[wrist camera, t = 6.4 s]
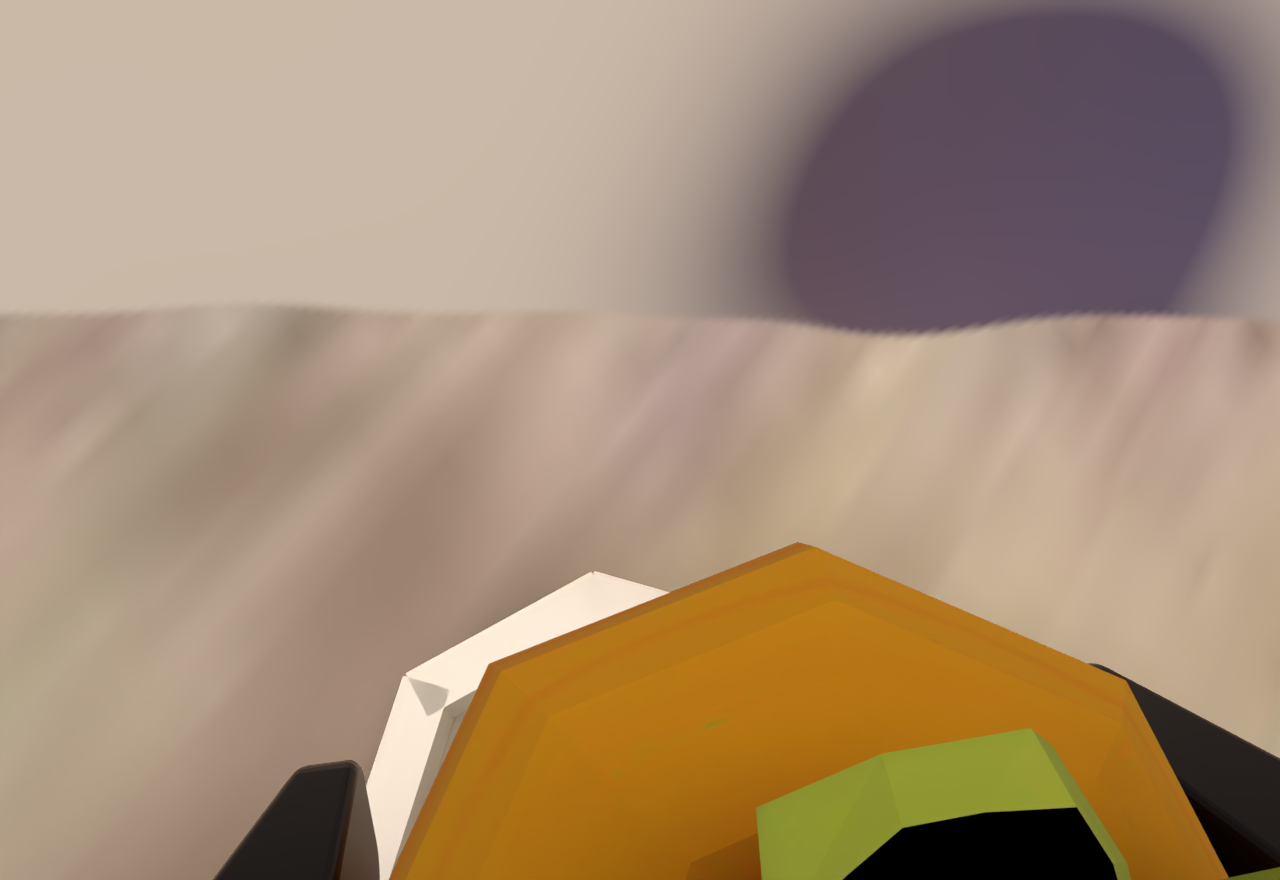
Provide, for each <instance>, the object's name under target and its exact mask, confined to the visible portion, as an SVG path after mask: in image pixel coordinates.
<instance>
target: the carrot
mask: <svg viewBox="0 0 1280 880" xmlns="http://www.w3.org/2000/svg"><path fill="white" fill-rule="evenodd" d="M389 880H1280V867H1278V868H1273V869H1268V870H1264V871H1259V872H1254V873H1249V874H1244V875H1240V876H1235V877H1230V878H1229V877H1228V875H1227V873H1226V871H1225V869H1224V868H1223V866H1222V864H1221V862H1220V860H1219V858H1218V856H1217V854H1216V852H1215V850H1214V848H1213V846H1212V845H1211V843H1210V841H1209V839H1208V837H1207V835H1206V833H1205V831H1204V829H1203V827H1202V825H1201V823H1200V821H1199V820H1198V818H1197V816H1196V814H1195V812H1194V810H1193V808H1192V806H1191V804H1190V802H1189V800H1188V798H1187V797H1186V795H1185V793H1184V791H1183V789H1182V787H1181V785H1180V783H1179V781H1178V779H1177V777H1176V775H1175V774H1174V772H1173V770H1172V768H1171V766H1170V764H1169V762H1168V760H1167V758H1166V756H1165V754H1164V752H1163V750H1162V749H1161V747H1160V745H1159V743H1158V741H1157V739H1156V737H1155V735H1154V733H1153V731H1152V729H1151V727H1150V726H1149V724H1148V722H1147V720H1146V718H1145V716H1144V714H1143V712H1142V710H1141V708H1140V706H1139V704H1138V703H1137V701H1136V699H1135V697H1134V695H1133V693H1132V691H1131V689H1130V687H1129V685H1128V683H1127V681H1126V680H1124V679H1122V678H1119V677H1117V676H1115V675H1112V674H1110V673H1108V672H1105V671H1103V670H1101V669H1098V668H1096V667H1094V666H1091V665H1089V664H1087V663H1084V662H1082V661H1080V660H1077V659H1075V658H1073V657H1070V656H1068V655H1066V654H1063V653H1061V652H1059V651H1056V650H1054V649H1052V648H1049V647H1047V646H1045V645H1042V644H1040V643H1038V642H1035V641H1033V640H1031V639H1028V638H1026V637H1024V636H1021V635H1019V634H1017V633H1014V632H1012V631H1010V630H1007V629H1005V628H1003V627H1000V626H998V625H996V624H993V623H991V622H989V621H986V620H984V619H982V618H979V617H977V616H975V615H972V614H970V613H968V612H965V611H963V610H961V609H958V608H956V607H954V606H951V605H949V604H947V603H944V602H942V601H940V600H937V599H935V598H933V597H930V596H928V595H926V594H923V593H921V592H919V591H916V590H914V589H912V588H909V587H907V586H905V585H902V584H900V583H898V582H895V581H893V580H891V579H888V578H886V577H884V576H881V575H879V574H877V573H874V572H872V571H870V570H868V569H865V568H863V567H861V566H858V565H856V564H854V563H851V562H849V561H847V560H844V559H842V558H840V557H837V556H835V555H833V554H830V553H828V552H826V551H823V550H821V549H819V548H816V547H813V546H810V545H806V544H802V543H798V542H797V543H794V544H792V545H789V546H787V547H784V548H782V549H779V550H777V551H774V552H772V553H769V554H766V555H764V556H761V557H759V558H756V559H754V560H751V561H749V562H746V563H744V564H741V565H738V566H736V567H733V568H731V569H728V570H726V571H723V572H721V573H718V574H716V575H713V576H711V577H708V578H705V579H703V580H700V581H698V582H695V583H693V584H690V585H688V586H685V587H683V588H680V589H677V590H675V591H672V592H670V593H667V594H665V595H662V596H660V597H657V598H655V599H652V600H649V601H647V602H644V603H642V604H639V605H637V606H634V607H632V608H629V609H627V610H624V611H622V612H619V613H616V614H614V615H611V616H609V617H606V618H604V619H601V620H599V621H596V622H594V623H591V624H588V625H586V626H583V627H581V628H578V629H576V630H573V631H571V632H568V633H566V634H563V635H561V636H558V637H555V638H553V639H550V640H548V641H545V642H543V643H540V644H538V645H535V646H533V647H530V648H527V649H525V650H522V651H520V652H517V653H515V654H512V655H510V656H507V657H505V658H502V659H499V660H497V661H494V662H492V663H489V664H488V666H487V668H486V671H485V673H484V675H483V677H482V679H481V681H480V684H479V686H478V688H477V690H476V692H475V694H474V697H473V699H472V701H471V703H470V705H469V707H468V709H467V712H466V714H465V716H464V718H463V720H462V722H461V725H460V727H459V729H458V731H457V733H456V735H455V738H454V740H453V742H452V744H451V746H450V748H449V751H448V753H447V755H446V757H445V759H444V761H443V763H442V766H441V768H440V770H439V772H438V774H437V776H436V779H435V781H434V783H433V785H432V787H431V789H430V792H429V794H428V796H427V798H426V800H425V802H424V805H423V807H422V809H421V811H420V813H419V815H418V817H417V820H416V822H415V824H414V826H413V828H412V830H411V833H410V835H409V837H408V839H407V841H406V843H405V846H404V848H403V850H402V852H401V854H400V856H399V859H398V861H397V863H396V865H395V867H394V869H393V871H392V874H391V876H390V878H389Z"/></svg>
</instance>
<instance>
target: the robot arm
mask: <svg viewBox="0 0 1280 880" xmlns="http://www.w3.org/2000/svg"><path fill="white" fill-rule="evenodd" d="M1088 664H1089V665H1091V666H1094V667H1096V668H1098V669H1101V670H1103V671H1105V672H1108V673H1110V674H1112V675H1115V676H1117V677H1119V678H1122V679H1124V680H1126V681H1127V683H1128V685H1129V687H1130V689H1131V691H1132V693H1133V695H1134V697H1135V699H1136V701H1137V703H1138V704H1139V706H1140V708H1141V710H1142V712H1143V714H1144V716H1145V718H1146V720H1147V722H1148V724H1149V726H1150V727H1151V729H1152V731H1153V733H1154V735H1155V737H1156V739H1157V741H1158V743H1159V745H1160V747H1161V749H1162V750H1163V752H1164V754H1165V756H1166V758H1167V760H1168V762H1169V764H1170V766H1171V768H1172V770H1173V772H1174V774H1175V775H1176V777H1177V779H1178V781H1179V783H1180V785H1181V787H1182V789H1183V791H1184V793H1185V795H1186V797H1187V798H1188V800H1189V802H1190V804H1191V806H1192V808H1193V810H1194V812H1195V814H1196V816H1197V818H1198V820H1199V821H1200V823H1201V825H1202V827H1203V829H1204V831H1205V833H1206V835H1207V837H1208V839H1209V841H1210V843H1211V845H1212V846H1213V848H1214V850H1215V852H1216V854H1217V856H1218V858H1219V860H1220V862H1221V864H1222V866H1223V868H1224V869H1225V871H1226V873H1227V875H1228V877H1229V878H1230V877H1235V876H1240V875H1244V874H1249V873H1254V872H1259V871H1264V870H1268V869H1273V868H1278V867H1280V758H1278V757H1276V756H1274V755H1272V754H1270V753H1268V752H1266V751H1265V750H1263V749H1261V748H1259V747H1257V746H1255V745H1253V744H1251V743H1249V742H1247V741H1246V740H1244V739H1242V738H1240V737H1238V736H1236V735H1234V734H1232V733H1230V732H1228V731H1227V730H1225V729H1223V728H1221V727H1219V726H1217V725H1215V724H1213V723H1211V722H1209V721H1208V720H1206V719H1204V718H1202V717H1200V716H1198V715H1196V714H1194V713H1192V712H1190V711H1189V710H1187V709H1185V708H1183V707H1181V706H1179V705H1177V704H1175V703H1173V702H1171V701H1170V700H1168V699H1166V698H1164V697H1162V696H1160V695H1158V694H1156V693H1154V692H1152V691H1151V690H1149V689H1147V688H1145V687H1143V686H1141V685H1139V684H1137V683H1135V682H1133V681H1132V680H1130V679H1128V678H1126V677H1124V676H1122V675H1120V674H1118V673H1116V672H1114V671H1113V670H1111V669H1109V668H1106V667H1104V666H1102V665H1099V664H1091V663H1088ZM213 880H380V868H379V855H378V847H377V841H376V836H375V831H374V826H373V821H372V815H371V810H370V805H369V800H368V795H367V790H366V784H365V779H364V775H363V771H362V769H361V767H360V766H359V764H358V763H356V762H354V761H352V760H346V761H339V762H331V763H323V764H316V765H308V766H304V767H302V768H300V769H299V770H297V771H296V772H295V773H294V774H293V775H292V776H291V777H290V778H289V780H288V781H287V782H286V784H285V785H284V786H283V788H282V789H281V790H280V792H279V793H278V794H277V796H276V797H275V798H274V800H273V801H272V802H271V804H270V805H269V806H268V808H267V809H266V810H265V812H264V813H263V814H262V815H261V817H260V818H259V819H258V821H257V822H256V823H255V825H254V826H253V827H252V829H251V830H250V831H249V833H248V834H247V835H246V837H245V838H244V839H243V841H242V842H241V843H240V845H239V846H238V847H237V848H236V850H235V851H234V852H233V854H232V855H231V856H230V858H229V859H228V860H227V862H226V863H225V864H224V866H223V867H222V868H221V870H220V871H219V872H218V874H217V875H216V876H215V878H214V879H213Z"/></svg>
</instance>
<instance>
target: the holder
mask: <svg viewBox="0 0 1280 880" xmlns="http://www.w3.org/2000/svg"><path fill="white" fill-rule="evenodd" d="M667 593H670V592H666V591H663V590H659V589H656V588H652V587H649V586H645V585H642V584H638V583H635V582H631V581H628V580H624V579H620V578H617V577H613V576H610V575H606V574H603V573H599V572H596V571H594V574H592V572H590V573H588V574H586V575H584V576H582V577H580V578H579V579H577V580H575V581H573V582H571V583H569V584H568V585H566V586H564V587H562V588H560V589H559V590H557V591H555V592H553V593H551V594H549V595H548V596H546V597H544V598H542V599H540V600H538V601H537V602H535V603H533V604H531V605H529V606H527V607H526V608H524V609H522V610H520V611H518V612H517V613H515V614H513V615H511V616H509V617H507V618H506V619H504V620H502V621H500V622H498V623H496V624H495V625H493V626H491V627H489V628H487V629H485V630H484V631H482V632H480V633H478V634H476V635H475V636H473V637H471V638H469V639H467V640H465V641H464V642H462V643H460V644H458V645H456V646H454V647H453V648H451V649H449V650H447V651H445V652H443V653H442V654H440V655H438V656H436V657H434V658H433V659H431V660H429V661H427V662H425V663H423V664H422V665H420V666H418V667H416V668H414V669H412V670H411V671H409V672H407V673H406V675H407V677H405V676H403V678H402V681H401V684H400V687H399V690H398V693H397V696H396V699H395V702H394V705H393V708H392V711H391V714H390V717H389V720H388V723H387V726H386V728H385V731H384V734H383V737H382V740H381V743H380V746H379V749H378V752H377V755H376V758H375V761H374V764H373V767H372V770H371V773H370V776H369V779H368V782H367V785H366V790H367V795H368V800H369V805H370V810H371V815H372V821H373V826H374V831H375V836H376V841H377V847H378V855H379V868H380V880H389V878H390V876H391V874H392V871H393V869H394V867H395V865H396V863H397V861H398V859H399V856H400V854H401V852H402V850H403V848H404V846H405V843H406V841H407V839H408V837H409V835H410V833H411V830H412V828H413V826H414V824H415V822H416V820H417V817H418V815H419V813H420V811H421V809H422V807H423V805H424V802H425V800H426V798H427V796H428V794H429V792H430V789H431V787H432V785H433V783H434V781H435V779H436V776H437V774H438V772H439V770H440V768H441V766H442V763H443V761H444V759H445V757H446V755H447V753H448V751H449V748H450V746H451V744H452V742H453V740H454V738H455V735H456V733H457V731H458V729H459V727H460V725H461V722H462V720H463V718H464V716H465V714H466V712H467V709H468V707H469V705H470V703H471V701H472V699H473V697H474V694H475V692H476V690H477V688H478V686H479V684H480V681H481V679H482V677H483V675H484V673H485V671H486V668H487V666H488V664H489V663H492V662H494V661H497V660H499V659H502V658H505V657H507V656H510V655H512V654H515V653H517V652H520V651H522V650H525V649H527V648H530V647H533V646H535V645H538V644H540V643H543V642H545V641H548V640H550V639H553V638H555V637H558V636H561V635H563V634H566V633H568V632H571V631H573V630H576V629H578V628H581V627H583V626H586V625H588V624H591V623H594V622H596V621H599V620H601V619H604V618H606V617H609V616H611V615H614V614H616V613H619V612H622V611H624V610H627V609H629V608H632V607H634V606H637V605H639V604H642V603H644V602H647V601H649V600H652V599H655V598H657V597H660V596H662V595H665V594H667Z"/></svg>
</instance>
